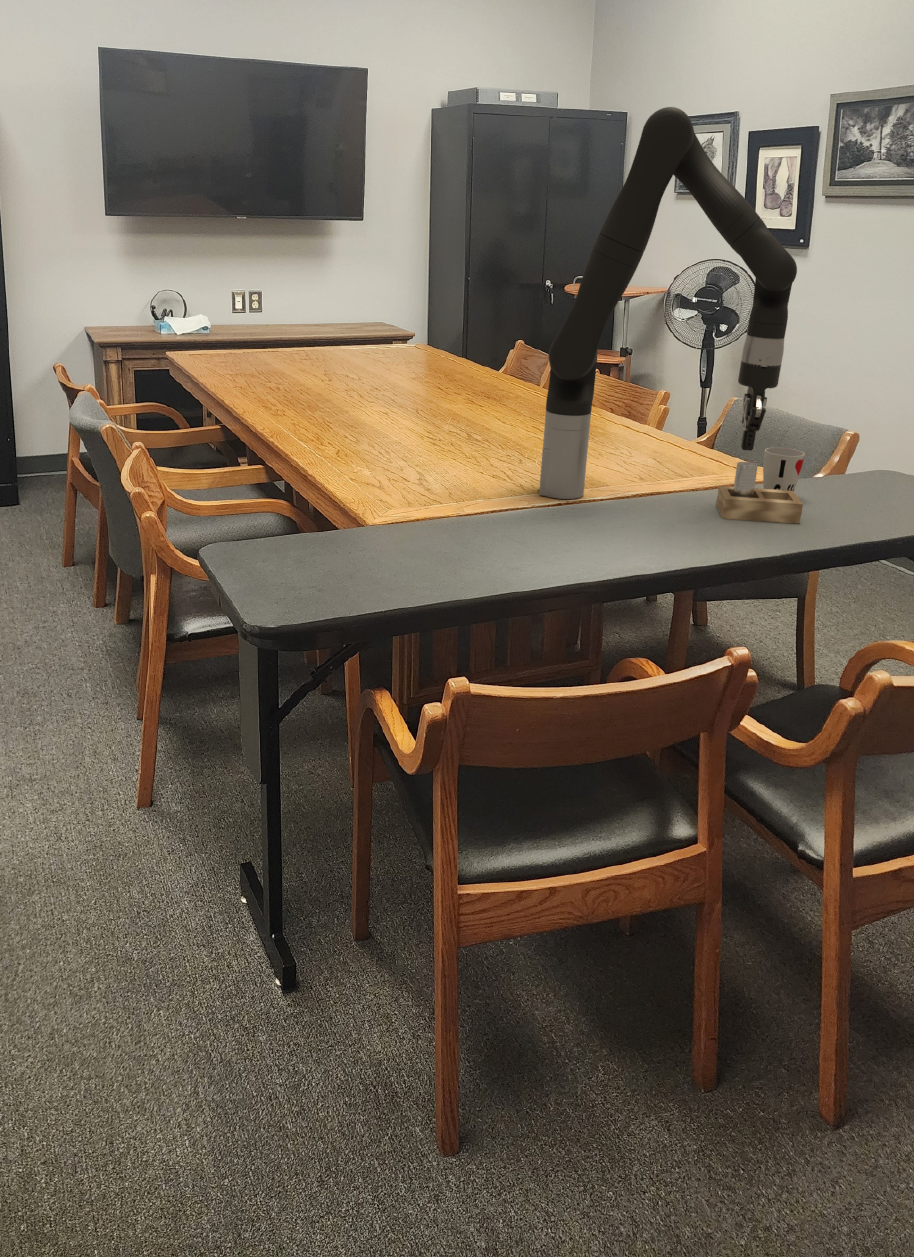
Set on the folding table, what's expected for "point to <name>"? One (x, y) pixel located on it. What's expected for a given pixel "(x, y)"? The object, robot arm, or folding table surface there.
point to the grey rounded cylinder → (745, 479)
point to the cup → (782, 468)
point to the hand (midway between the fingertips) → (746, 449)
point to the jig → (760, 505)
